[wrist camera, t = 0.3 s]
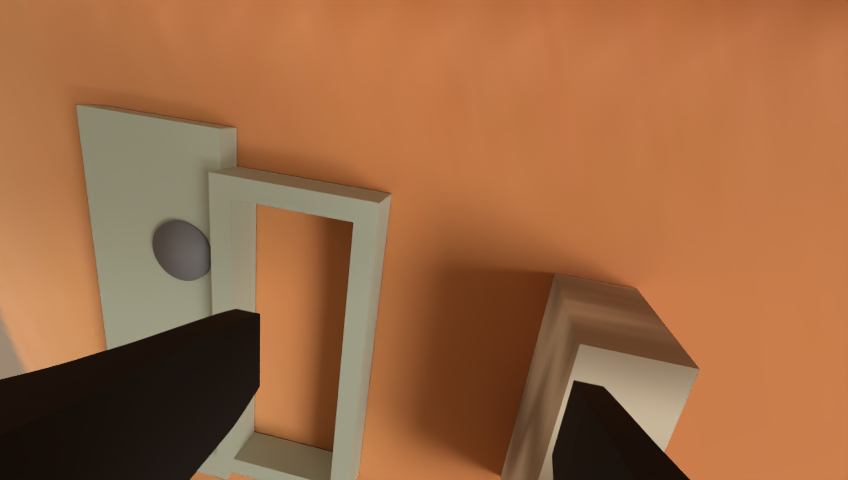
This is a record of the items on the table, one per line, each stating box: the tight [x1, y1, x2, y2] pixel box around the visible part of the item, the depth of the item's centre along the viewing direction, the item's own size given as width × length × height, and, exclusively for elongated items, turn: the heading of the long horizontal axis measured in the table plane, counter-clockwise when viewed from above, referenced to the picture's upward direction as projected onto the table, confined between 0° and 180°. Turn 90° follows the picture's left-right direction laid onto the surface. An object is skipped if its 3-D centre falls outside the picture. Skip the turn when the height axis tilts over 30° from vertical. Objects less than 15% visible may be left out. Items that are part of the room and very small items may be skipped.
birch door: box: [501, 273, 700, 480], centre depth 17 cm, size 12×4×6 cm, turn 172°
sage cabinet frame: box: [76, 105, 392, 480], centre depth 21 cm, size 20×14×2 cm
